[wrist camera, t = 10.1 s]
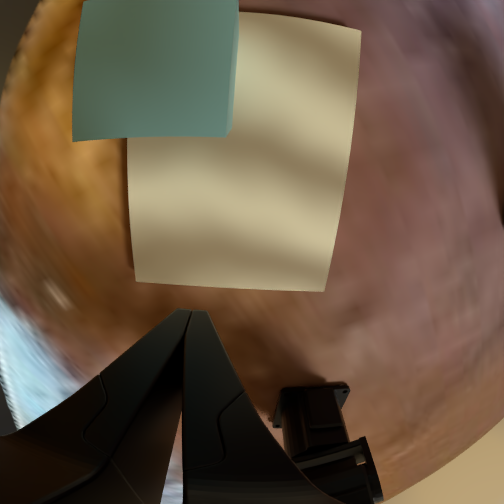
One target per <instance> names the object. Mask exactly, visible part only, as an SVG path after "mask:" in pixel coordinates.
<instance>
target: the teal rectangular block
mask: <svg viewBox="0 0 504 504" xmlns="http://www.w3.org/2000/svg"><path fill="white" fill-rule="evenodd" d="M238 41H239V0H88V1H84V3H83V8H82V14H81V20H80V26H79V33H78V40H77V48H76V58H75V69H74V83H73V109H72V136H73V142H77V141H87V140H99V139H114V138H133V137H225V138H226V136H227V135H228V133H229V132H230V130H231V129H232V119H233V105H234V91H235V77H236V65H237V52H238Z"/></svg>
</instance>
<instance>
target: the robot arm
mask: <svg viewBox="0 0 504 504" xmlns="http://www.w3.org/2000/svg"><path fill="white" fill-rule="evenodd" d="M349 392H350V388H349V386H348V385H342V386H328V387H308V388H284V389H282V390H281V391H280V395H279V399H278V403H277V407H276V411H275V415H274V419H273V422H272V424H273V428H282V432H283V441H284V449H285V451H284V450H283V448H282V447H281V446H280V444H279V443H278V442H277V441H276V439H275V438H274V437H273V435H272V434H271V433H270V431H269V430H268V428H267V427H266V425H265V424H264V423H263V421H262V420H261V418H260V416H259V415H258V413H257V411H256V409H255V408H254V406H253V404H252V402H251V400H250V398H249V396H248V394H247V393H246V391H245V389H244V387H243V385H242V383H241V381H240V379H239V377H238V375H237V373H236V371H235V368H234V366H233V364H232V362H231V360H230V358H229V356H228V354H227V352H226V350H225V348H224V345H223V343H222V341H221V339H220V337H219V335H218V333H217V330H216V328H215V326H214V324H213V322H212V319H211V317H210V315H209V313H208V311H206V310H193V311H192V310H191V309H181V308H178V309H176V310H175V311H173V312H172V313H171V314H170V315H169V316H167V317H166V318H165V319H164V320H163V321H161V322H160V323H159V324H158V325H157V326H155V327H154V328H153V329H152V330H151V331H149V332H148V333H147V334H146V335H145V336H143V337H142V338H141V339H140V340H139V341H137V342H136V343H135V344H134V345H133V346H131V347H130V348H129V349H128V350H127V351H125V352H124V353H123V354H122V355H121V356H119V357H118V358H117V359H116V360H115V361H113V362H112V363H111V364H110V365H109V366H107V367H106V368H105V369H104V370H103V371H101V372H100V375H96V376H95V377H94V378H93V379H92V380H90V381H89V382H88V383H87V384H86V385H84V386H83V387H82V388H80V389H79V390H78V391H77V392H75V393H74V394H73V395H71V396H70V397H68V398H67V399H66V400H64V401H63V402H61V403H60V404H58V405H57V406H55V407H54V408H52V409H51V410H49V411H48V412H46V413H45V414H43V415H42V416H40V417H38V418H37V419H35V420H34V421H32V422H31V423H29V424H28V425H26V426H24V427H23V428H21V429H19V430H18V431H16V432H13V433H11V434H8V435H4V436H0V504H160V502H161V498H162V493H163V489H164V484H165V480H166V475H167V471H168V466H169V462H170V457H171V453H172V449H173V444H174V440H175V436H176V432H177V428H178V423H179V419H180V415H181V411H182V467H183V504H375V503H378V502H381V501H384V499H383V493H382V489H381V485H380V481H379V478H378V474H377V471H376V468H375V465H374V461H373V458H372V455H371V452H370V449H369V446H368V443H367V440H366V437H365V436H364V437H361V438H359V439H358V440H355V441H352V442H350V440H349V436H348V433H347V429H346V426H345V422H344V418H343V415H342V411H341V409H342V407H343V405H344V403H345V401H346V399H347V397H348V394H349ZM364 461H365V463H364V464H360V465H357V464H358V463H361V462H364Z"/></svg>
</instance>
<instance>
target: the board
mask: <svg viewBox="0 0 504 504" xmlns="http://www.w3.org/2000/svg"><path fill="white" fill-rule="evenodd" d="M360 45H361V31H359V30H355V29H351V28H347V27H343V26H339V25H334V24H330V23H325V22H320V21H314V20H309V19H302V18H296V17H289V16H281V15H273V14H263V13H250V12H239V41H238V52H237V65H236V77H235V91H234V105H233V119H232V129H231V130H230V132H229V133H228V135H227V136H226V138H225V137H133V138H127V169H128V197H129V214H130V228H131V240H132V251H133V260H134V269H135V277H136V282H146V283H160V284H174V285H189V286H205V287H222V288H241V289H263V290H289V291H323V292H324V290H325V285H326V281H327V277H328V272H329V267H330V263H331V258H332V253H333V248H334V243H335V238H336V233H337V228H338V223H339V217H340V212H341V206H342V200H343V194H344V188H345V182H346V176H347V169H348V162H349V155H350V148H351V141H352V133H353V125H354V116H355V107H356V97H357V86H358V75H359V61H360Z"/></svg>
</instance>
